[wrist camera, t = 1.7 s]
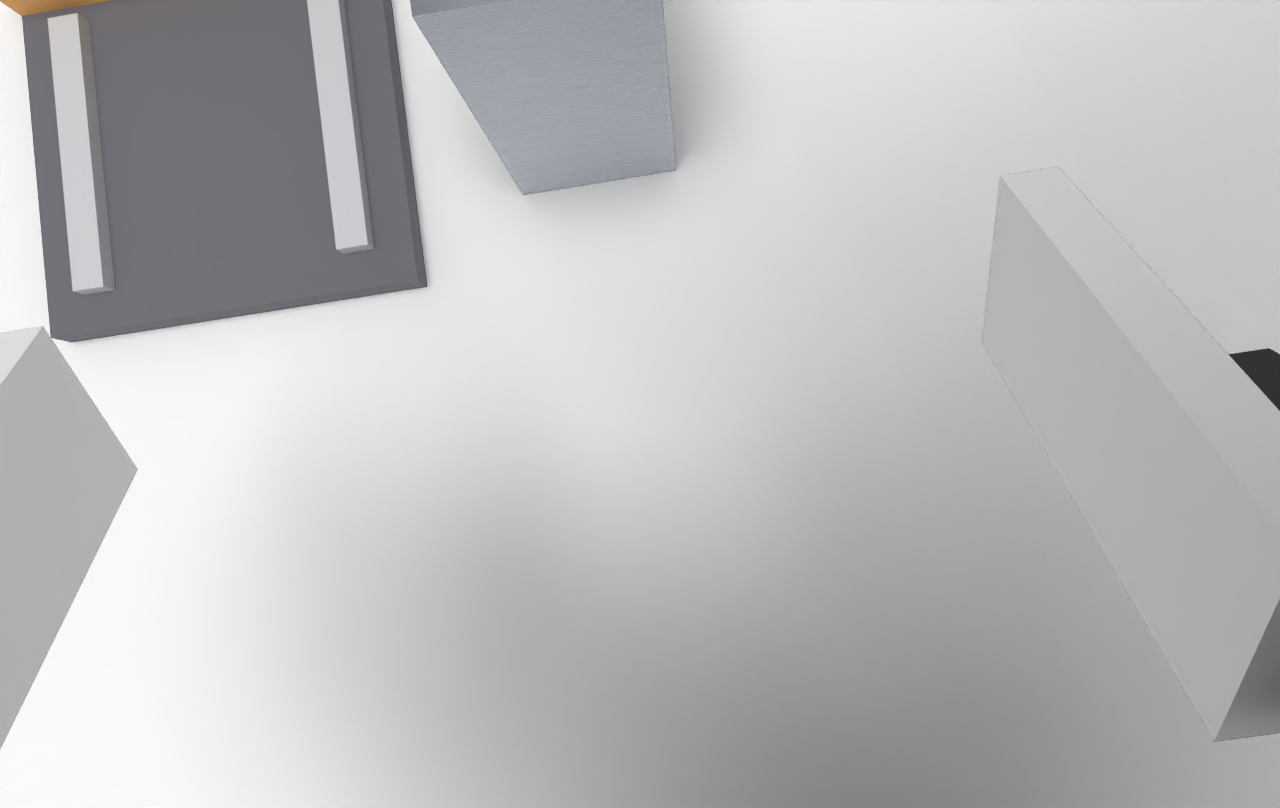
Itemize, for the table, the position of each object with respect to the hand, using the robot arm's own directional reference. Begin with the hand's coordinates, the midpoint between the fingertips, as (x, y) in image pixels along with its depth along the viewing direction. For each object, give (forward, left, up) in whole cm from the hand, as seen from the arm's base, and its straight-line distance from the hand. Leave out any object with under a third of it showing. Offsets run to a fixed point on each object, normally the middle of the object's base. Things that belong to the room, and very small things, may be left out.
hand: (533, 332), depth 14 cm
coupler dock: (+12, -11, -17) cm, 23 cm away
